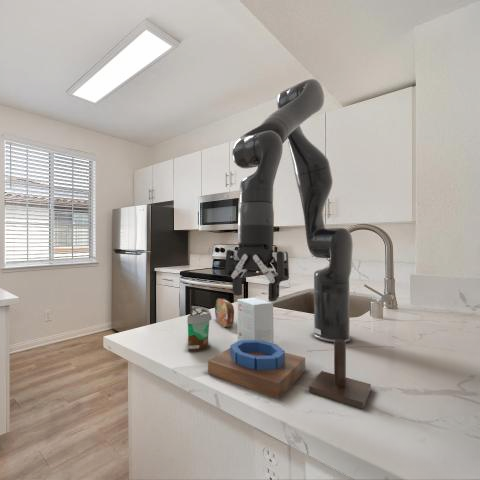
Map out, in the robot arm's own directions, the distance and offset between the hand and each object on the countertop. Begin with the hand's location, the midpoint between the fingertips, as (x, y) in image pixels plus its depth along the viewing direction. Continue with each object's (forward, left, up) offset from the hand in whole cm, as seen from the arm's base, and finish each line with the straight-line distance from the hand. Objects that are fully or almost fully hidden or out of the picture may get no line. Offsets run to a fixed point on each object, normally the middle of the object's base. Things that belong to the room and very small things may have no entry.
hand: (254, 297), depth 66 cm
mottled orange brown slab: (-31, -26, -18) cm, 44 cm away
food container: (-8, -20, -18) cm, 28 cm away
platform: (-3, -1, -18) cm, 18 cm away
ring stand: (-6, +15, -18) cm, 24 cm away
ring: (-3, -1, -15) cm, 15 cm away
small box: (-17, -8, -18) cm, 26 cm away
